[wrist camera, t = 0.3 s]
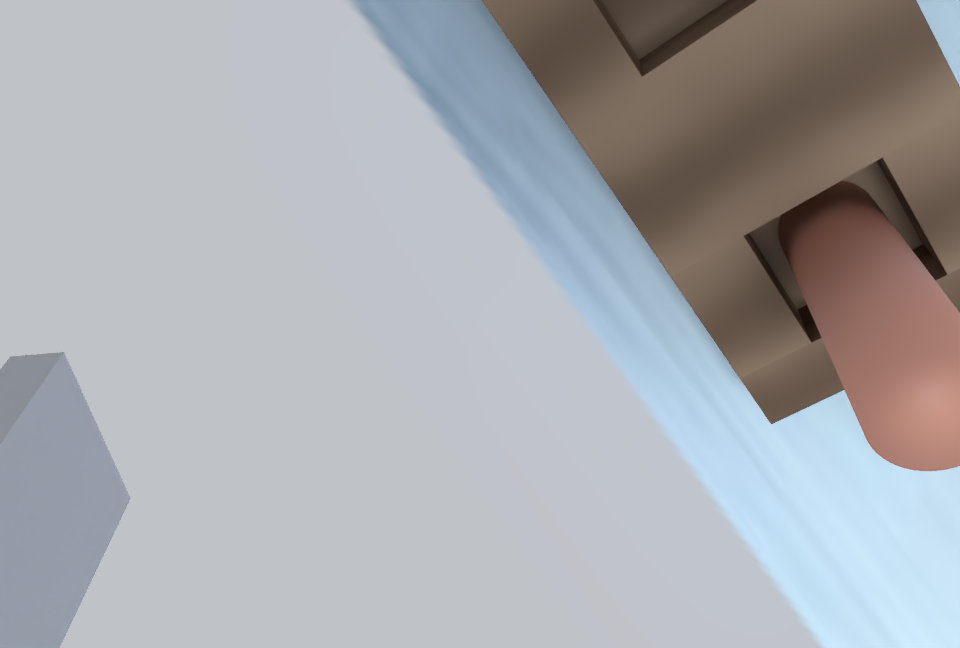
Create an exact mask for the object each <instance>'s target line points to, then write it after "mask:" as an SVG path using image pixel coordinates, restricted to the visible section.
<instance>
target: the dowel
mask: <svg viewBox="0 0 960 648" xmlns="http://www.w3.org/2000/svg"><path fill="white" fill-rule="evenodd" d="M778 236H779V241H780V244H781V247H782V249H783V251H784V253H785V256H786V258H787V260H788V262H789V265H790V267H791V269H792V271H793V274H794V276H795V278H796V281H797V283H798V285H799V287H800V290H801V292H802V294H803V296H804V299H805V301H806V303H807V305H808V308H809V310H810V312H811V315H812V317H813V319H814V321H815V324H816V326H817V328H818V330H819V333H820V335H821V337H822V339H823V342H824V344H825V346H826V349H827V351H828V353H829V355H830V358H831V360H832V362H833V364H834V367H835V369H836V371H837V373H838V376H839V378H840V380H841V382H842V385H843V387H844V389H845V392H846V394H847V396H848V398H849V401H850V403H851V405H852V407H853V410H854V412H855V414H856V416H857V419H858V421H859V423H860V426H861V428H862V430H863V432H864V435H865V437H866V439H867V441H868V443H869V444H870V446H871V447H872V448H873V449H874V451H875V452H876V453H877V454H879V455H880V456H881V457H882V458H884V459H885V460H887V461H889V462H890V463H893V464H895V465H897V466H900V467H903V468H907V469H912V470H919V471H937V470H945V469H950V468H954V467H957V466H960V312H959V311H958V310H957V308H956V307H955V306H954V304H953V303H952V302H951V301H950V299H949V298H948V297H947V295H946V294H945V293H944V291H943V290H942V289H941V287H940V286H939V285H938V283H937V282H936V281H935V279H934V278H933V277H932V276H931V274H930V273H929V272H928V270H927V269H926V268H925V266H924V265H923V264H922V262H921V261H920V260H919V258H918V257H917V256H916V255H915V253H914V252H913V251H912V249H911V248H910V247H909V245H908V244H907V243H906V241H905V240H904V239H903V237H902V236H901V235H900V233H899V232H898V231H897V230H896V228H895V227H894V226H893V224H892V223H891V222H890V220H889V219H888V218H887V216H886V215H885V214H884V212H883V211H882V210H881V209H880V207H879V206H878V205H877V203H876V202H875V201H874V199H873V198H872V197H871V196H870V194H869V193H868V192H867V191H865V190H864V189H863V188H861V187H860V186H858V185H856V184H854V183H850V182H847V181H840V182H838V183H836V184H835V185H833V186H831V187H829V188H828V189H826V190H824V191H822V192H820V193H819V194H817V195H815V196H813V197H812V198H810V199H808V200H806V201H805V202H803V203H801V204H799V205H797V206H796V207H794V208H792V209H790V210H789V211H787V212H785V213H783V214H781V217H780V220H779V225H778Z"/></svg>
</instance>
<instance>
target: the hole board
mask: <svg viewBox="0 0 960 648" xmlns="http://www.w3.org/2000/svg"><path fill="white" fill-rule="evenodd" d="M482 1H483V2H484V4H485V5H486V7H487V8H488V10H489V11H490V13H491V14H492V16H493V17H494V18H495V20H496V21H497V23H498V24H499V26H500V27H501V29H502V30H503V32H504V33H505V35H506V36H507V38H508V39H509V40H510V42H511V43H512V45H513V46H514V48H515V49H516V51H517V52H518V54H519V55H520V57H521V58H522V60H523V61H524V62H525V64H526V65H527V67H528V68H529V70H530V71H531V73H532V74H533V76H534V77H535V79H536V80H537V82H538V83H539V84H540V86H541V87H542V89H543V90H544V92H545V93H546V95H547V96H548V98H549V99H550V101H551V102H552V103H553V105H554V106H555V108H556V109H557V111H558V112H559V114H560V115H561V117H562V118H563V120H564V121H565V123H566V124H567V125H568V127H569V128H570V130H571V131H572V133H573V134H574V136H575V137H576V139H577V140H578V142H579V143H580V145H581V146H582V147H583V149H584V150H585V152H586V153H587V155H588V156H589V158H590V159H591V161H592V162H593V164H594V165H595V167H596V168H597V169H598V171H599V172H600V174H601V175H602V177H603V178H604V180H605V181H606V183H607V184H608V186H609V187H610V189H611V190H612V191H613V193H614V194H615V196H616V197H617V199H618V200H619V202H620V203H621V205H622V206H623V208H624V209H625V210H626V212H627V213H628V215H629V216H630V218H631V219H632V221H633V222H634V224H635V225H636V227H637V228H638V230H639V231H640V232H641V234H642V235H643V237H644V238H645V240H646V241H647V243H648V244H649V246H650V247H651V249H652V250H653V252H654V253H655V254H656V256H657V257H658V259H659V260H660V262H661V263H662V265H663V266H664V268H665V269H666V271H667V272H668V274H669V275H670V276H671V278H672V279H673V281H674V282H675V284H676V285H677V287H678V288H679V290H680V291H681V293H682V294H683V295H684V297H685V298H686V300H687V301H688V303H689V304H690V306H691V307H692V309H693V310H694V312H695V313H696V315H697V316H698V317H699V319H700V320H701V322H702V323H703V325H704V326H705V328H706V329H707V331H708V332H709V334H710V335H711V337H712V338H713V339H714V341H715V342H716V344H717V345H718V347H719V348H720V350H721V351H722V353H723V354H724V356H725V357H726V359H727V360H728V361H729V363H730V364H731V366H732V367H733V369H734V370H735V372H736V373H737V375H738V376H739V378H740V379H741V380H742V382H743V383H744V385H745V386H746V388H747V389H748V391H749V392H750V394H751V395H752V397H753V398H754V400H755V401H756V402H757V404H758V405H759V407H760V408H761V410H762V411H763V413H764V414H765V416H766V417H767V419H768V420H769V422H770V423H771V424H773V423H775V422H777V421H779V420H781V419H783V418H786V417H788V416H790V415H792V414H794V413H796V412H798V411H800V410H802V409H805V408H807V407H809V406H811V405H813V404H815V403H817V402H819V401H821V400H824V399H826V398H828V397H830V396H832V395H834V394H836V393H838V392H840V391H843V390H845V389H844V387H843V385H842V382H841V380H840V378H839V376H838V373H837V371H836V369H835V367H834V364H833V362H832V360H831V358H830V355H829V353H828V351H827V349H826V346H825V344H824V342H823V339H822V337H821V335H820V333H819V330H818V328H817V326H816V324H815V321H814V319H813V317H812V315H811V312H810V310H809V308H808V305H807V303H806V301H805V299H804V296H803V294H802V292H801V290H800V287H799V285H798V283H797V281H796V278H795V276H794V274H793V271H792V269H791V267H790V265H789V262H788V260H787V258H786V256H785V253H784V251H783V249H782V247H781V244H780V241H779V236H778V225H779V220H780V217H781V214H783V213H785V212H787V211H789V210H790V209H792V208H794V207H796V206H797V205H799V204H801V203H803V202H805V201H806V200H808V199H810V198H812V197H813V196H815V195H817V194H819V193H820V192H822V191H824V190H826V189H828V188H829V187H831V186H833V185H835V184H836V183H838V182H840V181H847V182H850V183H854V184H856V185H858V186H860V187H861V188H863V189H864V190H865V191H867V192H868V193H869V194H870V196H871V197H872V198H873V199H874V201H875V202H876V203H877V205H878V206H879V207H880V209H881V210H882V211H883V212H884V214H885V215H886V216H887V218H888V219H889V220H890V222H891V223H892V224H893V226H894V227H895V228H896V230H897V231H898V232H899V233H900V235H901V236H902V237H903V239H904V240H905V241H906V243H907V244H908V245H909V247H910V248H911V249H912V251H913V252H914V253H915V255H916V256H917V257H918V258H919V260H920V261H921V262H922V264H923V265H924V266H925V268H926V269H927V270H928V272H929V273H930V274H931V276H932V277H933V278H934V279H935V281H936V282H937V283H938V285H939V286H940V287H941V289H942V290H943V291H944V293H945V294H946V295H947V297H948V298H949V299H950V301H951V302H952V303H953V304H954V306H955V307H956V308H957V310H958V311H959V312H960V86H959V84H958V82H957V80H956V78H955V76H954V74H953V72H952V71H951V69H950V67H949V65H948V63H947V61H946V59H945V57H944V55H943V53H942V51H941V49H940V47H939V45H938V43H937V41H936V39H935V37H934V35H933V33H932V31H931V29H930V27H929V25H928V23H927V21H926V19H925V17H924V15H923V13H922V11H921V9H920V7H919V5H918V3H917V1H916V0H482Z"/></svg>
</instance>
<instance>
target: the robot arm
mask: <svg viewBox="0 0 960 648" xmlns="http://www.w3.org/2000/svg"><path fill="white" fill-rule="evenodd" d="M129 500H130V496H129V494H128V492H127V490H126V488H125V485H124V483H123V481H122V479H121V477H120V475H119V472H118V470H117V468H116V466H115V463H114V461H113V459H112V457H111V455H110V452H109V450H108V448H107V446H106V444H105V441H104V439H103V437H102V435H101V433H100V431H99V428H98V426H97V424H96V422H95V420H94V417H93V415H92V413H91V411H90V408H89V406H88V404H87V402H86V400H85V398H84V395H83V393H82V391H81V389H80V387H79V385H78V382H77V380H76V378H75V375H74V373H73V371H72V369H71V367H70V364H69V362H68V360H67V358H66V356H65V353H64V352H62V353H61V352H60V353H49V354H37V355H25V356H14V357H10V358H9V359H8V360H7V362H6V363H5V364H4V366H3V367H2V368H1V369H0V648H59V647H60V645H61V643H62V641H63V639H64V637H65V635H66V633H67V631H68V629H69V626H70V624H71V622H72V620H73V618H74V616H75V614H76V612H77V609H78V607H79V605H80V603H81V601H82V599H83V597H84V595H85V593H86V591H87V588H88V586H89V584H90V582H91V580H92V578H93V576H94V574H95V572H96V569H97V568H98V565H99V563H100V561H101V559H102V557H103V555H104V553H105V550H106V549H107V546H108V544H109V542H110V540H111V538H112V536H113V534H114V531H115V530H116V527H117V525H118V523H119V521H120V519H121V517H122V515H123V513H124V511H125V509H126V507H127V504H128V502H129Z"/></svg>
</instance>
